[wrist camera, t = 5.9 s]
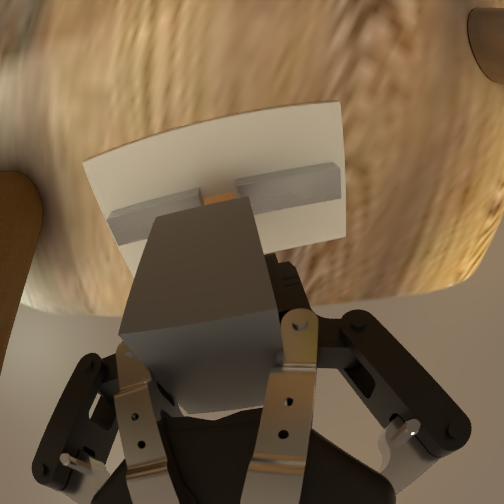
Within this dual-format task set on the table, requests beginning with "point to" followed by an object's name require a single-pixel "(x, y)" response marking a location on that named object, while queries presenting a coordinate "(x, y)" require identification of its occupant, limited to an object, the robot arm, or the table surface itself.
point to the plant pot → (16, 245)
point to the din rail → (256, 187)
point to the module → (205, 308)
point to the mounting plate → (230, 169)
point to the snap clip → (218, 198)
